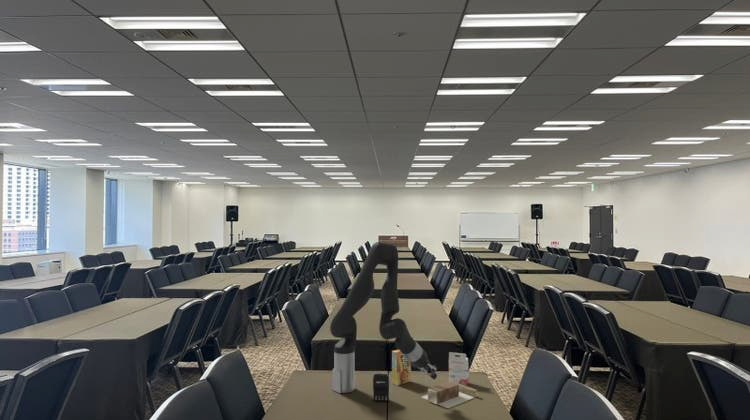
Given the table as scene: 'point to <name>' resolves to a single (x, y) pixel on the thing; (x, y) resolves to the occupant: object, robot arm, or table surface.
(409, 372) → the candy box
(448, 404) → the felt mat
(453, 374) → the ink cartridge box
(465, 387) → the birch lip
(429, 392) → the brown block
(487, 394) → the table surface
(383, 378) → the battery charger
